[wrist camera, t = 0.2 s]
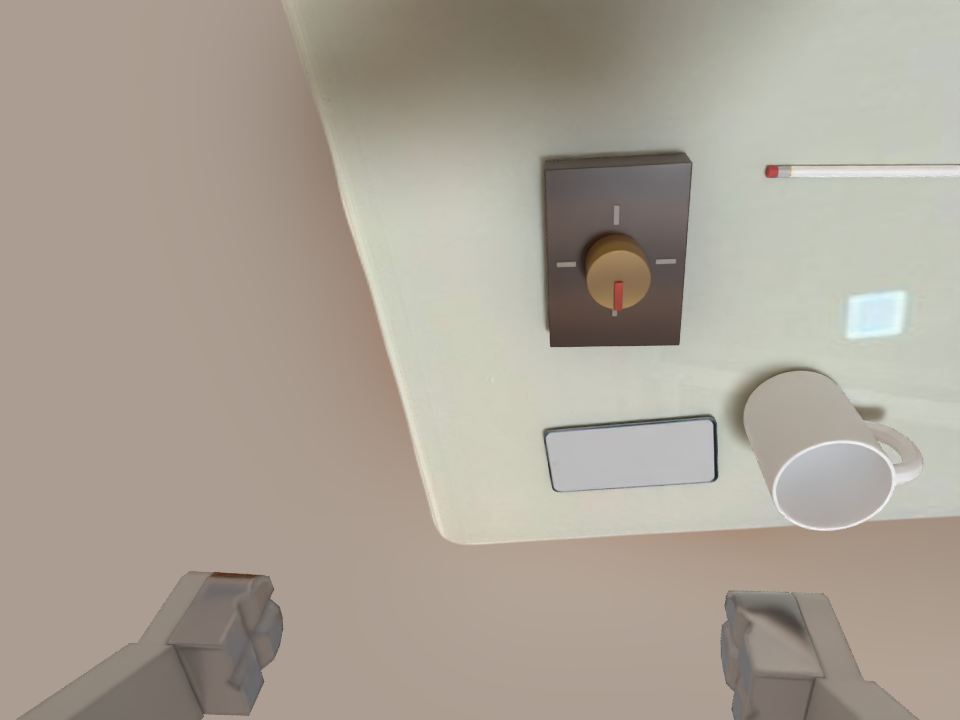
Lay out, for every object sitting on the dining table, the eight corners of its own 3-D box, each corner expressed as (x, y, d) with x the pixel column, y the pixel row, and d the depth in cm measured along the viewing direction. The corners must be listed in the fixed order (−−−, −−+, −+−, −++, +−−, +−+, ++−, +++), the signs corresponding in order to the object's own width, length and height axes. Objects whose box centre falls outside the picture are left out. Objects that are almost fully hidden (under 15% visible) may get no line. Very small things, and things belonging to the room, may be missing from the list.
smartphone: (718, 482, 61) (552, 492, 64) (717, 478, 61) (553, 489, 64) (716, 418, 58) (542, 432, 60) (715, 414, 58) (543, 429, 61)
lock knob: (585, 235, 49) (586, 252, 46) (647, 232, 48) (653, 250, 45) (585, 291, 51) (586, 312, 48) (644, 289, 50) (650, 310, 47)
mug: (904, 373, 54) (970, 449, 45) (874, 455, 58) (930, 540, 49) (751, 363, 56) (786, 436, 47) (732, 445, 60) (761, 526, 51)
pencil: (767, 165, 48) (769, 167, 47) (1053, 163, 46) (1059, 166, 45) (765, 176, 48) (767, 178, 48) (1048, 175, 46) (1054, 178, 46)
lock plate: (545, 160, 50) (544, 170, 47) (685, 152, 48) (692, 162, 45) (550, 330, 56) (550, 348, 53) (674, 328, 55) (679, 346, 52)
